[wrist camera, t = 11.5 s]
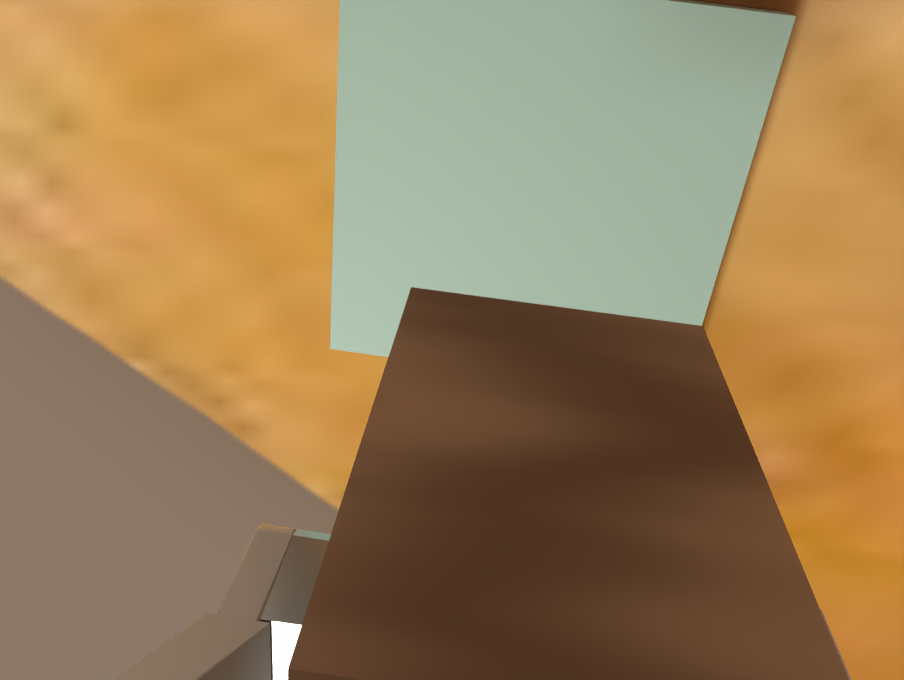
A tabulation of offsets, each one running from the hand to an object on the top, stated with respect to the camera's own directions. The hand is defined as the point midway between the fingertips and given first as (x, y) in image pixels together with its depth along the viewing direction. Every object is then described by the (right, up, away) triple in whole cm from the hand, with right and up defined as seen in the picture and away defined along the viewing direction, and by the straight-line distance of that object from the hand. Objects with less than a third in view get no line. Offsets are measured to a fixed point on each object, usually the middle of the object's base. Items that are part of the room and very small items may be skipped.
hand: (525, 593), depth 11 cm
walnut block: (0, +1, +3) cm, 3 cm away
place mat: (+2, +8, +15) cm, 17 cm away
